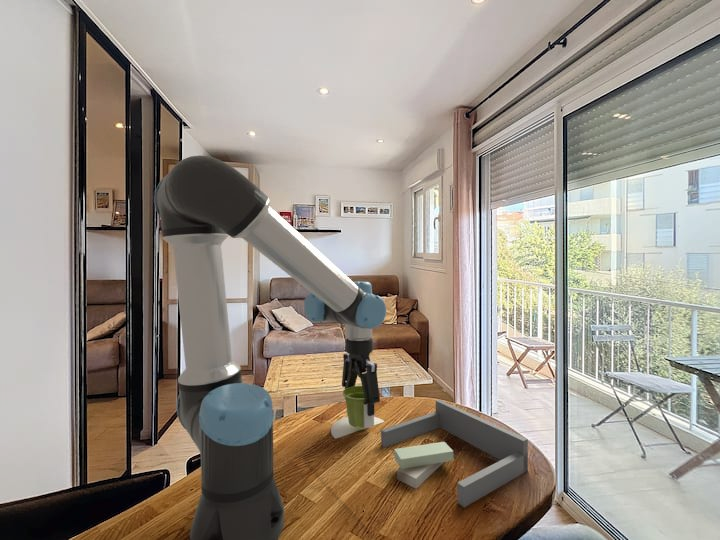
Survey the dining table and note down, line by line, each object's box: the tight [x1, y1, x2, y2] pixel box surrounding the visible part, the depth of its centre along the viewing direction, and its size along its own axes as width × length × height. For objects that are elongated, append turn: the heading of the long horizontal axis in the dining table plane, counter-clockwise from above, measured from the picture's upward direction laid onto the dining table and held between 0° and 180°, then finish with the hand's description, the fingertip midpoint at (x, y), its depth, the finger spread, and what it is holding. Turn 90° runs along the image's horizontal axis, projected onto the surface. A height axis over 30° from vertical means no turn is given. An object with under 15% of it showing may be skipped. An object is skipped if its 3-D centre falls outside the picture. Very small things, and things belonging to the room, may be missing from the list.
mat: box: [330, 416, 385, 440], centre depth 92 cm, size 16×16×1 cm
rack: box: [380, 399, 529, 508], centre depth 77 cm, size 20×26×8 cm
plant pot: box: [342, 385, 366, 428], centre depth 92 cm, size 9×9×9 cm
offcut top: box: [393, 441, 455, 469], centre depth 72 cm, size 4×12×2 cm, turn 104°
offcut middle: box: [396, 442, 445, 489], centre depth 72 cm, size 4×14×2 cm, turn 139°
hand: (359, 419), depth 92 cm, fingers closed on plant pot, 8 cm apart
